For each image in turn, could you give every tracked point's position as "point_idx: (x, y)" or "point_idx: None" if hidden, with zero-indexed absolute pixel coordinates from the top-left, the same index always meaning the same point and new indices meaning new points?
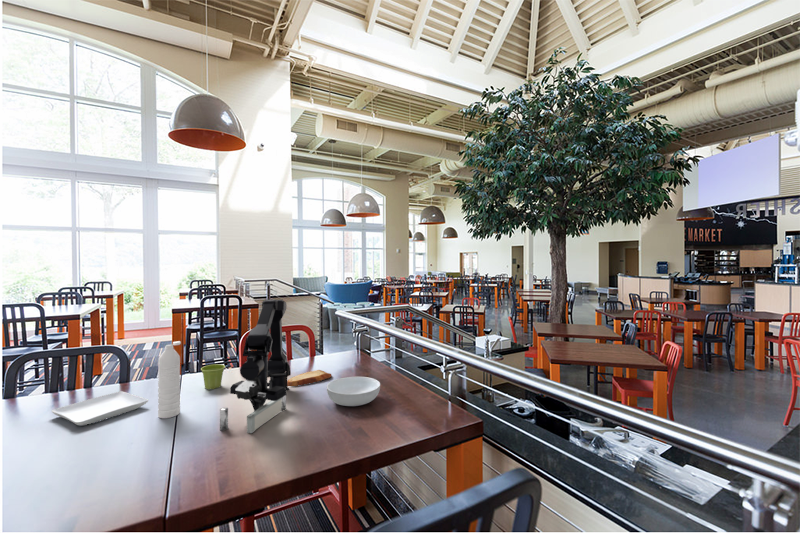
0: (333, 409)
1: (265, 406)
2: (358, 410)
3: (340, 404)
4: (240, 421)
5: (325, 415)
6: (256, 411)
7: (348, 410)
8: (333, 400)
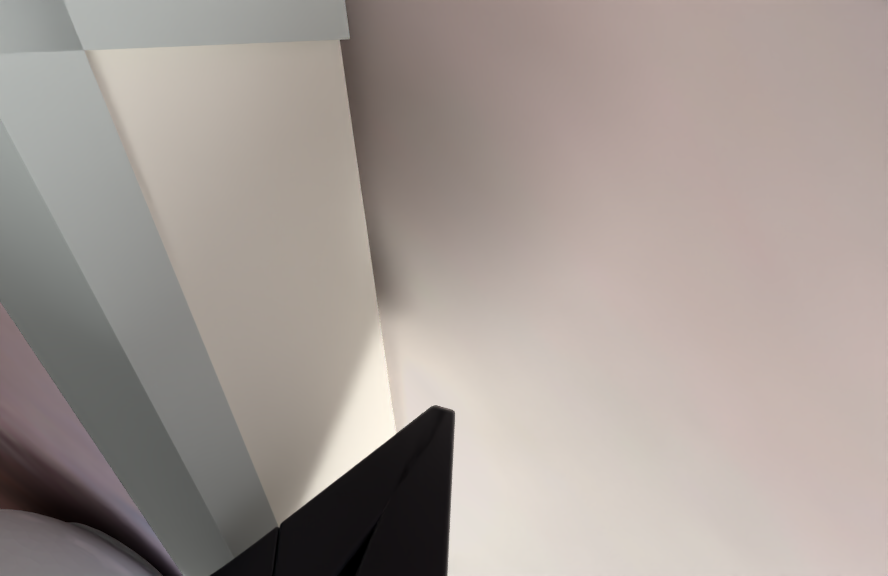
0: (116, 506)
1: (166, 532)
2: (20, 479)
3: (56, 531)
4: (778, 354)
5: (78, 443)
6: (40, 295)
7: (51, 485)
8: (68, 569)
